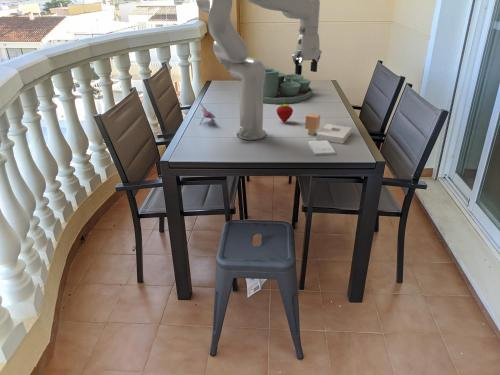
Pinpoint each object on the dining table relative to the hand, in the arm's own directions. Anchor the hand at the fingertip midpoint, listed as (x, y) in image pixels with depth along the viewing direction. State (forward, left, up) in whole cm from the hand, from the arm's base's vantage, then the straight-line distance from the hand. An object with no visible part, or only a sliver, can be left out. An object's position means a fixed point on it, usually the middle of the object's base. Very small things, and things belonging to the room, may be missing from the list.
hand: (306, 73), depth 175 cm
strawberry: (-3, +8, -23) cm, 24 cm away
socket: (-11, -18, -23) cm, 31 cm away
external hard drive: (-26, -17, -23) cm, 39 cm away
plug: (-12, -8, -23) cm, 27 cm away
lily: (-19, +39, -23) cm, 49 cm away
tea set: (+41, +31, -23) cm, 57 cm away
